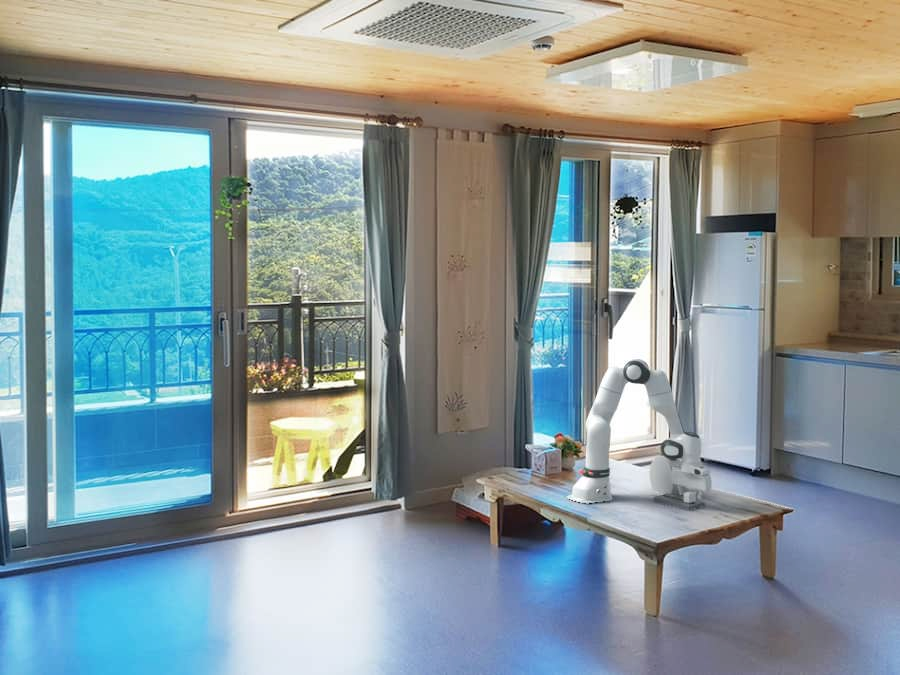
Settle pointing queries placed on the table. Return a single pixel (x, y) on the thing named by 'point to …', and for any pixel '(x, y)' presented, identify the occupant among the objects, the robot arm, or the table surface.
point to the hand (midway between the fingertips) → (690, 497)
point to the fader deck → (677, 501)
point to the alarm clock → (663, 475)
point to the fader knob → (689, 496)
